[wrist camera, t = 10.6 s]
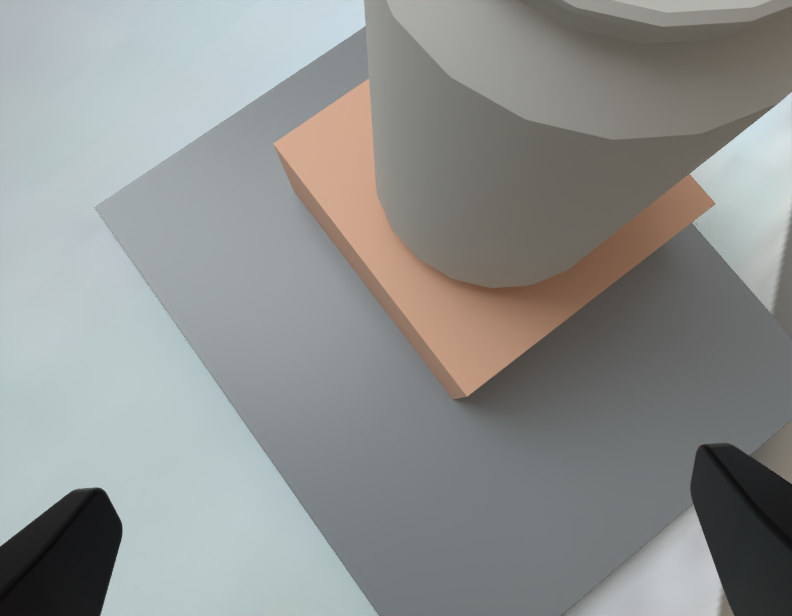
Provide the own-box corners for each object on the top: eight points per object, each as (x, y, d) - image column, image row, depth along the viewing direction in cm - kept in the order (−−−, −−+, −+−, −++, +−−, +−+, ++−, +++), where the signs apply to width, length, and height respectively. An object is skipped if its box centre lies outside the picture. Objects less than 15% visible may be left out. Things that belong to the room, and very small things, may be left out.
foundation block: (658, 240, 22) (715, 204, 18) (452, 399, 21) (467, 396, 17) (495, 50, 24) (515, -22, 20) (293, 190, 23) (273, 143, 19)
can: (572, 50, 19) (861, -522, 7) (640, 264, 18) (1117, -15, 6) (351, 96, 19) (287, -428, 7) (404, 318, 18) (435, 132, 6)
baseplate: (813, 385, 22) (832, 384, 21) (444, 698, 20) (447, 712, 19) (460, -22, 25) (463, -39, 24) (106, 216, 23) (94, 207, 22)
